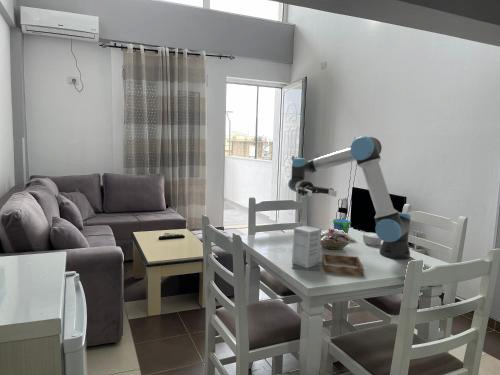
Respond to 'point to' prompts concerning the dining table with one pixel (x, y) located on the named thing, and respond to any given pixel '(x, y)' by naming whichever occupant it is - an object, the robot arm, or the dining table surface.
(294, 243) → the supplement box
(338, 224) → the snack cup
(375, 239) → the ramekin
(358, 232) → the dining table surface
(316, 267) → the grey pad
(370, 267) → the dining table surface
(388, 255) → the robot arm
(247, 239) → the dining table surface
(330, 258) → the walnut crate
